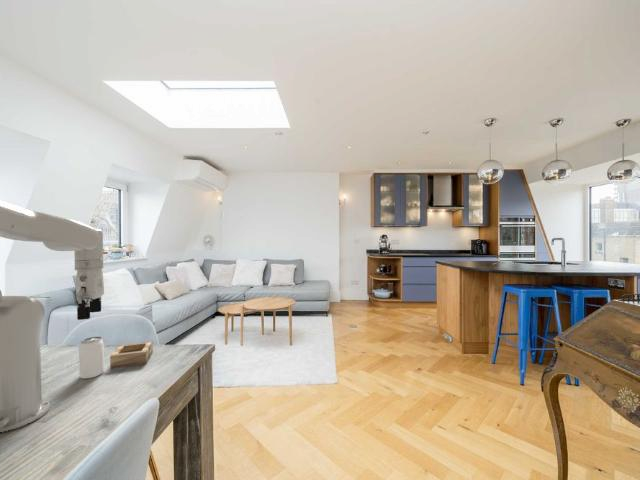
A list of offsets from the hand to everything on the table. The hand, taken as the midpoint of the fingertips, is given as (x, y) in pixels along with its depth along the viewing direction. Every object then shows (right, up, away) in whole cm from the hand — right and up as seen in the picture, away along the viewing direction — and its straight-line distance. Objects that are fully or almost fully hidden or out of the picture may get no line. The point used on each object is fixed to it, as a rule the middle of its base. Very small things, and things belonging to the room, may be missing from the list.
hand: (90, 315), depth 96 cm
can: (+1, -20, 0) cm, 20 cm away
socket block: (+7, -20, +11) cm, 24 cm away
